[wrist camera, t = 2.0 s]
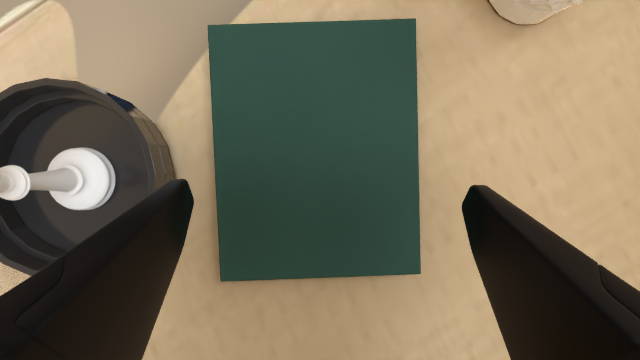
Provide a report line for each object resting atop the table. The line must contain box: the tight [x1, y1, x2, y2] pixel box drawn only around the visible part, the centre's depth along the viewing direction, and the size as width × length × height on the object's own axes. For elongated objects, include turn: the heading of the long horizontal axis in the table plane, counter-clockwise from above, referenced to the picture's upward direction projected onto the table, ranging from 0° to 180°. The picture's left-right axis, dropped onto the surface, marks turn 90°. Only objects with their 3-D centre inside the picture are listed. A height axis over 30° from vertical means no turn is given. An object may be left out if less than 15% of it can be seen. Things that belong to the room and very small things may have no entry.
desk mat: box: [208, 19, 421, 281], centre depth 24 cm, size 20×16×1 cm
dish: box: [0, 78, 174, 276], centre depth 22 cm, size 14×14×3 cm
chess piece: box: [0, 148, 115, 210], centre depth 19 cm, size 5×5×10 cm
